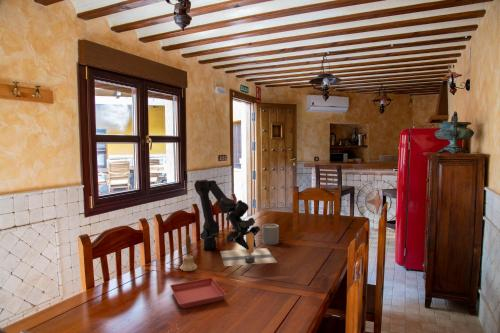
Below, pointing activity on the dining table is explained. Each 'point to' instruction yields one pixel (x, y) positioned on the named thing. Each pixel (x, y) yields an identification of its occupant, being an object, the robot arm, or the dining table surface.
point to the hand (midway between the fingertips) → (251, 248)
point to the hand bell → (188, 258)
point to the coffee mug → (270, 234)
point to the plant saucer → (197, 292)
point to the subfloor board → (239, 256)
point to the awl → (250, 247)
